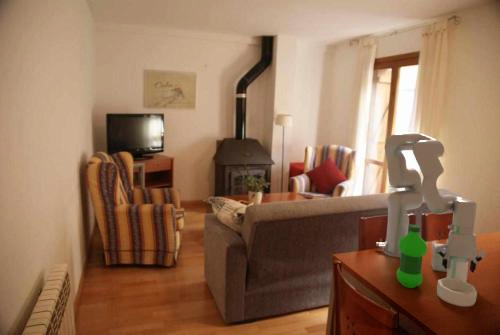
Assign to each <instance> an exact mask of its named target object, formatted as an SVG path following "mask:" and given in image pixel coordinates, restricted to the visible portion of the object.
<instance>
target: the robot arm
mask: <svg viewBox="0 0 500 335" xmlns="http://www.w3.org/2000/svg"><path fill="white" fill-rule="evenodd" d="M403 151H412V153H413V157H414V158H415V161H416V162H417V165H418V167H419V169H420V172H421V174H422V177H423V178H421V175H420V173H419V171H418V170H417V169H415V168H412V167H410V168H408V167H407V159H406V157H405V155H404V153H403ZM384 152H385V157H386V163H387V166H386V167H387V173H388V183H389V185H390V187H391V188H393V189H404V190H398V191H393V192H392V193H389V195H388V197H387V200H386V203H387V210H388V212H387V227H386V240H385V241H384V242H378V241H376V243H375V244H376V245H375V246H376V247H378V248H382V249H381V251H382V253H383V254H384V255H387V256H389V257H392V258H398V259H399V258H401V252H400V250H399V245H398V243H399V240H400V238H402V237H403V236H405V235H407V234H409V230H408V225H410V216H409V215H408V212H407V211H409V210H416V209H419V208H420V207H421V206H422V205H423V200H424V202H425V204H426V206H427V208H428V209H429V211H430V212H431V213H432V214H436V215H443V214H452V213H453V215H452V223H451V224H449V225H447V228H448V229H449V233H448V235H447V239H446V243H443V244H444V245H441V246H437V247H436V248H437V250H438V252H439V254H440V255H441V256H442V257H443V261H442V265H443V266H444V268H445V269H446V268H447V262H448V260H447V258H448V257H449V256H451V257H459V258H465V259H468V260H470V261H469V264H470V265H469V271H470V272H471V273H472V274H473V273H474V272H475V271H476V267H477V264H478V262H479V263H480V262H481V261H482V260H483V258H485V256H486V252H484V251H482V250H481V249H479V248H478V247H477V235H476V234H475V233H474V231H475V222H476V221H475V220H476V213H477V203H476V201H475V200H473V199H469V198H463V197H460V196H458V195H455V194H444V195H440V192H439V190H438V188H437V187H438V186H437V181H438V179H439V177H441V175H442V174H443V173H444V171H445V169H444V166H443V165H442V163H441V161H440V157H441V158H442V156H443V155H444V153H445V146H444V144H443V143H442V142H441V141H440V140H438V139H436V138H433V137H431V136H428V135H426V134H424V133H420V132H396V133H393V134H391V135H390V136H388V137H387V139H386V141H385V142H384ZM444 248H446V252H445V253H444V254H443V253H442V251H441V249H444ZM477 254H478V255H477Z"/></svg>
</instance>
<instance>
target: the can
mask: <svg viewBox="0 0 500 335" xmlns="http://www.w3.org/2000/svg"><path fill="white" fill-rule="evenodd" d="M469 264H470V259H465V258H459V257H451V256H449V261H448V270H447V272H446V278H453V279H459V280H462V281H464V282H467V278H468V272H469V271H468V270H469Z"/></svg>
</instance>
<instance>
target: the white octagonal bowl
mask: <svg viewBox="0 0 500 335" xmlns="http://www.w3.org/2000/svg"><path fill="white" fill-rule="evenodd" d="M436 286H437V287H436V295H437V297H438V298H440V299H441V300H442V301H444V302H446V303H448V304H451V305H454V306H458V307H464V308H465V307H473V306H474V305H475V304H476V301H477V297H478V291H477V289H476V288H475V286H474V285H473V284H471V283H468V282H467V281H466V282H464V281H462V280H459V279H453V278H447V277H444V278H441V279H439V278H438V280H437V284H436Z"/></svg>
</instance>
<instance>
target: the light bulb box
mask: <svg viewBox="0 0 500 335" xmlns="http://www.w3.org/2000/svg"><path fill="white" fill-rule="evenodd" d="M444 244H445V243H436V242H433V243H432V254H431V263H430V265H431V267H432V271H438V272H445V273H447V270H448V262H447V268H446V269H445V268H444V266H443V265H442V261H443V257H442V256H441V255H440V254H439V252H438V250H437V248H436V247H437V246H441V245H444ZM441 251H442V253H443V254H444V253H445V252H446V248H444V249H441ZM447 260H448V261H449V257H448V258H447Z"/></svg>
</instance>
